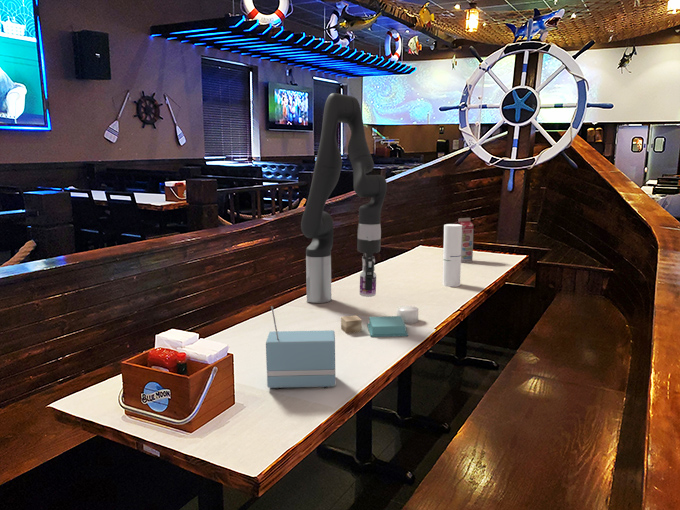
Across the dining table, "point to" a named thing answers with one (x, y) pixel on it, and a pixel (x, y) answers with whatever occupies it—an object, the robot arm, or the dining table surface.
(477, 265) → the dining table surface
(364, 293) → the pill bottle
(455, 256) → the cylindrical container
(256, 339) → the dining table surface
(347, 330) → the tan square block
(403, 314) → the white rounded puck
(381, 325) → the podium
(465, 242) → the juice carton
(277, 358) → the radio
